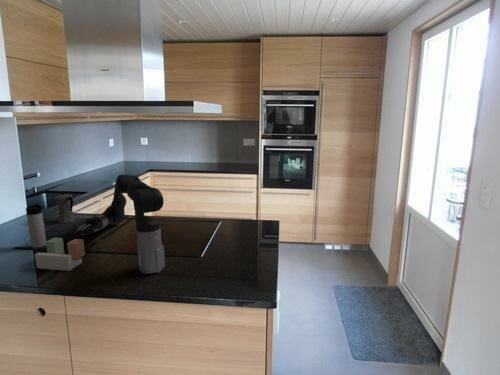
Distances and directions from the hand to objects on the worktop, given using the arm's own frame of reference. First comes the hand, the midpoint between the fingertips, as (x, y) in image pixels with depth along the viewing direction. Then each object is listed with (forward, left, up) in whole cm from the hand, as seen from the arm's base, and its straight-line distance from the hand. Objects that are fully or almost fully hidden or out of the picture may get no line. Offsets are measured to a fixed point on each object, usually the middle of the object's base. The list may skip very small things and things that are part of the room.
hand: (74, 235), depth 159 cm
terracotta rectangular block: (-10, +13, -5) cm, 17 cm away
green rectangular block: (0, +13, -5) cm, 13 cm away
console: (-5, +16, -7) cm, 18 cm away
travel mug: (+19, 0, -7) cm, 21 cm away
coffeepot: (+32, -37, -7) cm, 50 cm away
